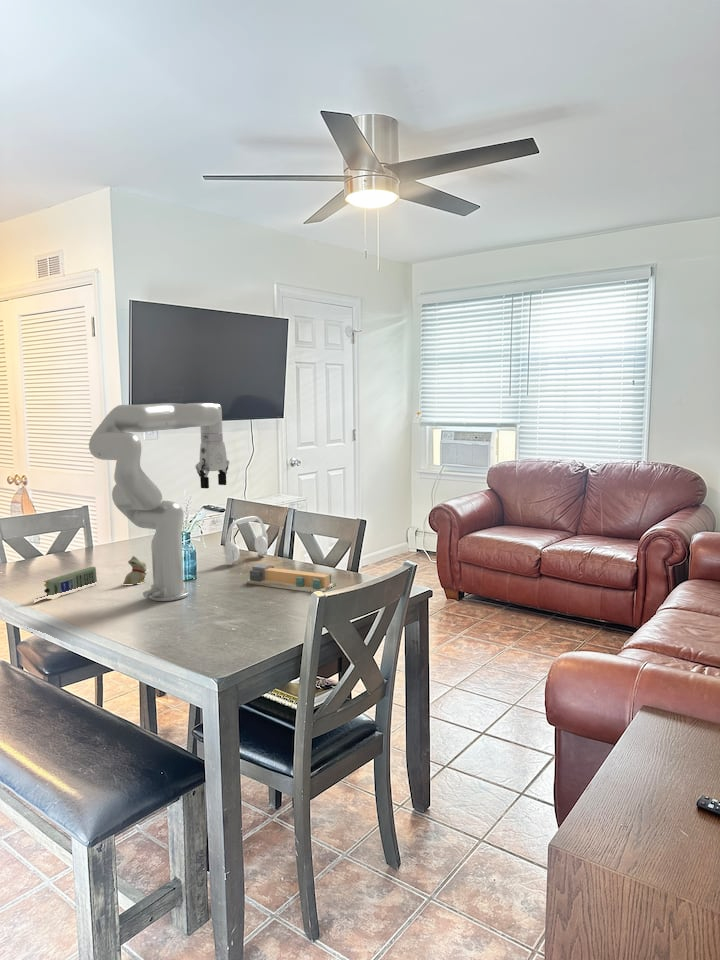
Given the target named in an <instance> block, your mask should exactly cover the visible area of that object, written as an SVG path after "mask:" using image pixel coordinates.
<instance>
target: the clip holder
mask: <svg viewBox="0 0 720 960" xmlns="http://www.w3.org/2000/svg"><path fill="white" fill-rule="evenodd" d="M271 568H275V567H274V565H271ZM310 572H311V573H316V572H315V571H310ZM326 574H327V575H330V585H329V586H327V587H325V588H322V587H321V580H319V579H313V586H307V585H304V578H303V577H296V584H292V583H284V582H276V581H269V580H261V571H254V570H249V579H247V580H246V584H249V585H258V586H264V587H270V588H271V587H272V588H279V589H286V590H292V591H293V590H294V591H301V592H307V593H308V592H309V593H314V592H313V591H325V592H327V591H329V590H330V589H332V588H334V587H336V586H337V585H336V584H337V583H336V582H332V574H330V573H326ZM335 585H336V586H335ZM333 586H334V587H333ZM331 587H332V588H331ZM328 589H329V590H328ZM310 591H311V592H310Z"/></svg>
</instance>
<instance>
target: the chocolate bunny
mask: <svg viewBox="0 0 720 960" xmlns="http://www.w3.org/2000/svg"><path fill="white" fill-rule="evenodd" d="M128 565H130V566H131V569H132V570H131V571H130V572H129V573H128V574H127V573H126V576H125V578H124V581H123V584H137V583H141V582H144V581H145V582H146V580H145V578H146V575H147V572H146V571H147V564H146V563H145V562H143V561H141V560H139V558H137V557H136V556H135V555H132V557H131V558H130V559H129V560H128ZM145 582H144V583H145Z"/></svg>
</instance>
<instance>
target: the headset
mask: <svg viewBox="0 0 720 960" xmlns="http://www.w3.org/2000/svg"><path fill="white" fill-rule="evenodd" d="M256 520H257V522H259V524H260V527H261V531H262V533H261V535H259V536H256V538H255V540H254V549H255V551H256V552H257V556H261V557H262V556H266V555H268V548H269V547H268V546H269V544H268V542H269V541H268V534H267V530H266V526H265V524H264V521H263V520H262V519H261V518H260V517H259V516H255V515H252V516H245V517H241V518H237V519H235V520H234V521H232V522H231V524H230V525H229V526H228V527H229V528H228V529H227V530H228V531H227V533H226V539H225V542H224V543H225V544H224V547H225V555H226V564H227V565H228V566H230V565H233V563H234V562H237V561H238V560H239V558H240V548H239V546H238V545H237V544H236V543H235V542H231V538H232V537H231V536H232V533H233V532H232V531H233V529H234V527H235V526H236V525H242V524H247V523H250V522H255V521H256Z"/></svg>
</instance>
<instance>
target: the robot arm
mask: <svg viewBox="0 0 720 960" xmlns="http://www.w3.org/2000/svg"><path fill="white" fill-rule="evenodd" d="M222 409H223V408H222V406H221V404H219V403H215V402H213V403H212V402H193V403H192V402H189V403H188V402H187V403H176V402H169V403H168V402H161V403H148V404H146V403H143V404H119V405H117V406H115V407H114V408H112V409H111V410H110V411H109V412H108V413H107V414H106V416H105V417H104V419H103V420H102V421H101V423H100V424H99V425H98V426H97V428H96V429H95V430H94V432H93V433H92V434H91V436H90V437H89V443H88V449H89V451H90V454H91V456H93V457H94V458H96V459H97V460H102V461H104V460H105V461H116V462H115V468H114V473H113V474H114V475H113V479H114V482H115V485H114V487H112V490H111V496H112V497H111V498H112V499H111V500H112V501H113V505H114V506H115V507H116V508H117V509H118V511H120V512H121V513H122V514H123V516H125V517H126V518H127V519H128V521H130V522H131V523H132V524H133V525H135V526H136V527H138V528H142V529H147V530H148V529H149V530H155V532H154V535H153V538H152V540H151V544H150V545H151V547H150V549H151V562H152V563H151V564H152V580H153V581H152V582H153V584H152V585H151V586H150V587H151V588H150V589H148V590H146V591H145V590H144V591H143V593H142V596H143V597H144V598H149V599H150V600H152V601H156V602H171V601H178V600H181V599H184V598H186V597H187V596H189V589H187V588H185V587H184V585H185V584H184V566H183V564H184V563H183V547H182V546H183V545H182V544H183V543H182V542H183V541H182V532H183V530H182V529H183V524H184V511H183V508H182V506H181V505H179V503H176V502H174V501H170V500H163V495H162V494H163V493H162V492H161V490H160V488H159V486H157V485H156V484H155V482H153V481H152V480H151V479H150V478H149V476H148V475H147V474H146V472H145V471H143V469H142V466H141V456H142V449H143V447H142V443H141V440H140V439H139V437H138V436H137V435H136V434H134V433H146V432H156V431H165V430H167V431H169V430H178V429H179V430H180V429H186V428H187V429H188V428H196V427H197V428H198V427H200V446H199V462H197V463H196V465H195V469H196V472H197V474H198V478H200V489H209V488H210V481H209V480H210V479H209V476H208V475H209V473H210V472H218V474H217V481H218V482H217V483H218V485H219V486H226V485H227V474H228V470H229V466H230V461H229V460H228V457H227V450H226V446H225V441H223V439H224V436H223V434H224V433H223V412H222Z"/></svg>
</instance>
